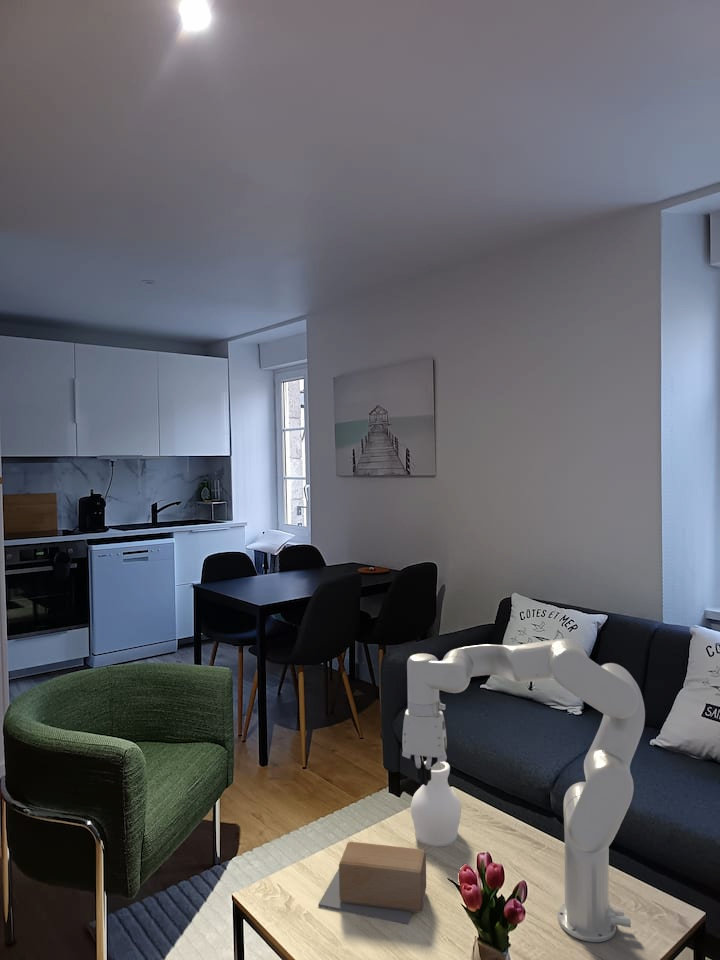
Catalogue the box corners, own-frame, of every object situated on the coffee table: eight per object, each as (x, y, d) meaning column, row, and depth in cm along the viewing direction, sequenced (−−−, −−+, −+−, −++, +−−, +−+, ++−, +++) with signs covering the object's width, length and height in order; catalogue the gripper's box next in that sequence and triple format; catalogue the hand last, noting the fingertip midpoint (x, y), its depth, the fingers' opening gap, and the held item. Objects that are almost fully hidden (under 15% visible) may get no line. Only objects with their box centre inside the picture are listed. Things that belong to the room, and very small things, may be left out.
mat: (424, 877, 172) (424, 875, 171) (408, 924, 154) (407, 922, 154) (343, 862, 178) (343, 860, 178) (318, 906, 161) (318, 904, 161)
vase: (402, 827, 195) (401, 759, 194) (446, 817, 200) (445, 750, 199) (425, 854, 182) (424, 781, 181) (471, 842, 187) (470, 771, 186)
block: (421, 872, 156) (337, 862, 161) (421, 914, 157) (338, 903, 161) (426, 847, 166) (347, 839, 170) (426, 887, 167) (348, 878, 171)
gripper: (457, 704, 162) (458, 779, 163) (397, 698, 167) (398, 771, 167) (451, 716, 155) (453, 794, 156) (389, 709, 160) (390, 786, 160)
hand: (424, 782), depth 161 cm, fingers closed
